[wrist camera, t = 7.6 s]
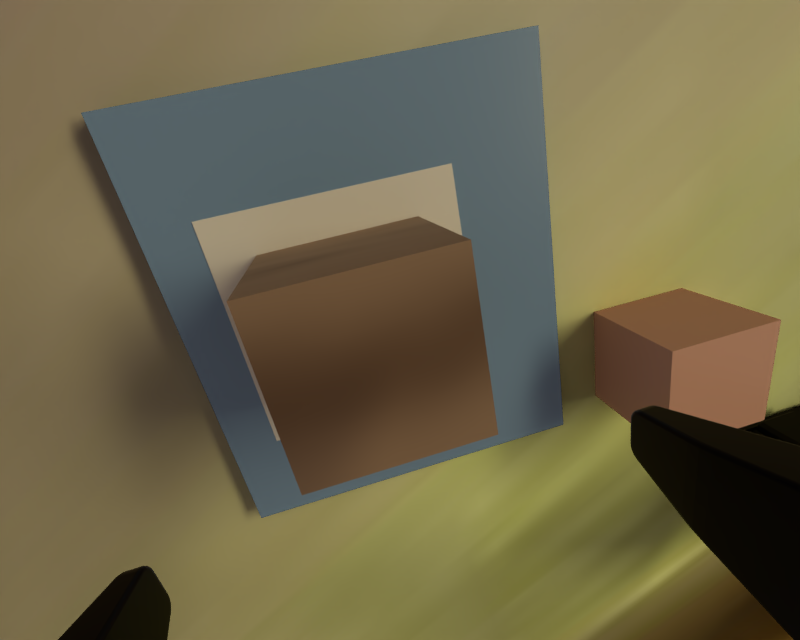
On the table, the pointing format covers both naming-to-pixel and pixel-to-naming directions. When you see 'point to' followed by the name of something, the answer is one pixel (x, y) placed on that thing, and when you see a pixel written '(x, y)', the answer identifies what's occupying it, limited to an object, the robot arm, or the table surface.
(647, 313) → the terracotta block
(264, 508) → the mat
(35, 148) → the table surface
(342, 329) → the walnut block
